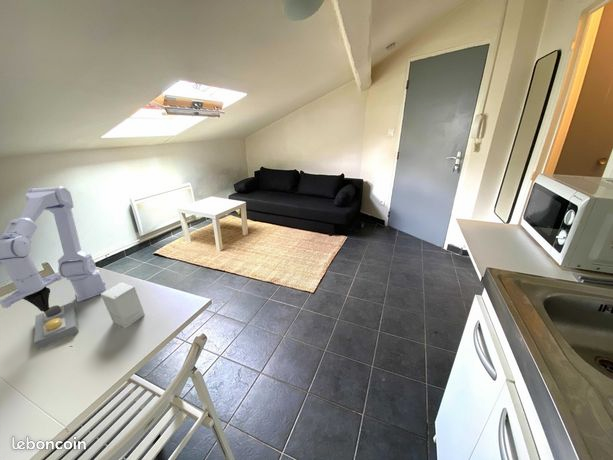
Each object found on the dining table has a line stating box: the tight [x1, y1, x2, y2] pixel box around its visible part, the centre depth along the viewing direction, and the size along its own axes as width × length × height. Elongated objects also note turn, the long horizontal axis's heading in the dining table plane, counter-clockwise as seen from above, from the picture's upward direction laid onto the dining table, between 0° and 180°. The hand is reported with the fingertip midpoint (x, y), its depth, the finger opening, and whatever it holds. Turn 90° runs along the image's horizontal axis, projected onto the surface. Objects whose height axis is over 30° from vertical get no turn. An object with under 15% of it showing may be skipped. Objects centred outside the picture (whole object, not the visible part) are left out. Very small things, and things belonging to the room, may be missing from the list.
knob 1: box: [43, 305, 61, 317], centre depth 92 cm, size 4×4×5 cm
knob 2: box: [44, 318, 62, 331], centre depth 86 cm, size 4×4×5 cm
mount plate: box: [33, 301, 79, 350], centre depth 89 cm, size 10×16×4 cm, turn 42°
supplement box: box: [100, 281, 146, 329], centre depth 91 cm, size 7×7×13 cm
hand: (45, 310), depth 84 cm, fingers closed
